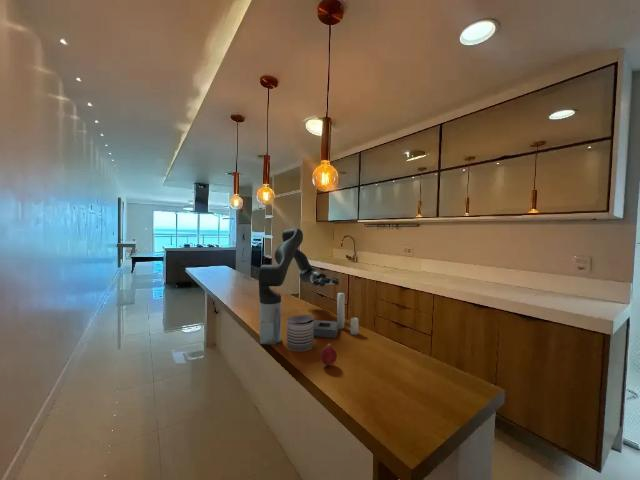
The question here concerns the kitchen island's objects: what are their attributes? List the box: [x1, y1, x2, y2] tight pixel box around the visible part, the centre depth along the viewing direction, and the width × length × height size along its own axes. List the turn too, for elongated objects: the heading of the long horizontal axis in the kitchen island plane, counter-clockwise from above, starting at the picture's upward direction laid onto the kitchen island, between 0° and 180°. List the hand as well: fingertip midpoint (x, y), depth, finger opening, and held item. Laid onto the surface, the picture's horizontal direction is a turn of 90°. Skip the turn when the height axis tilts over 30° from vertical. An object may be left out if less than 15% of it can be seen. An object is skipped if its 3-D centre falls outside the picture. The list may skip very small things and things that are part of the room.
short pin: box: [350, 317, 359, 336], centre depth 130 cm, size 4×4×7 cm
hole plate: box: [313, 319, 339, 339], centre depth 132 cm, size 12×12×4 cm
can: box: [286, 314, 314, 352], centre depth 116 cm, size 11×11×12 cm
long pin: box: [336, 292, 346, 329], centre depth 138 cm, size 4×4×17 cm
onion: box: [320, 343, 338, 367], centre depth 99 cm, size 6×6×8 cm
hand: (330, 283), depth 148 cm, fingers open, 8 cm apart
